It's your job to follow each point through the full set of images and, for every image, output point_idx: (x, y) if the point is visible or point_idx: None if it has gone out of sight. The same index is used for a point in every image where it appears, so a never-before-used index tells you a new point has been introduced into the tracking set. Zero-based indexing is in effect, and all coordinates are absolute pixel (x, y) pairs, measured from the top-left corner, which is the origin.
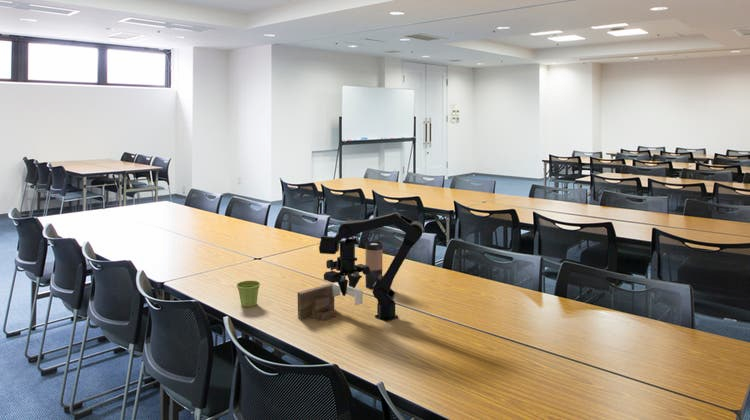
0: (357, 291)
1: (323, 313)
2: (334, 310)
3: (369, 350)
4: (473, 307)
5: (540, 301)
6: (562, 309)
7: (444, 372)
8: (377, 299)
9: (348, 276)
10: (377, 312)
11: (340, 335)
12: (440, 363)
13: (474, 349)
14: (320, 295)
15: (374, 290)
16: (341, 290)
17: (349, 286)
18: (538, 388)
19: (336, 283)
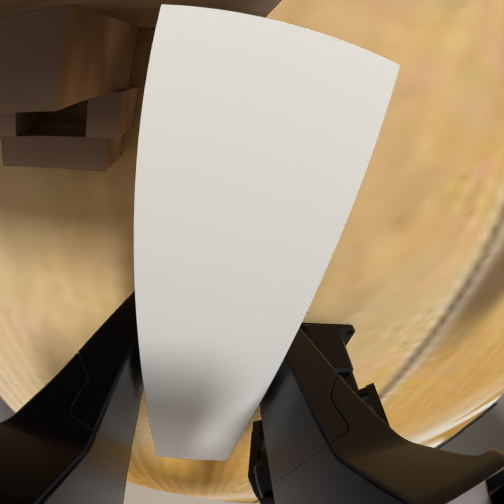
0: (182, 453)
1: (14, 156)
2: (101, 169)
3: None
4: (445, 398)
5: (472, 411)
6: (442, 433)
7: (131, 462)
8: (251, 445)
9: (361, 501)
10: (305, 331)
11: (26, 319)
12: (147, 459)
13: (235, 467)
14: (17, 13)
15: (259, 485)
16: (106, 333)
17: (262, 382)
18: (187, 487)
19: (273, 74)
